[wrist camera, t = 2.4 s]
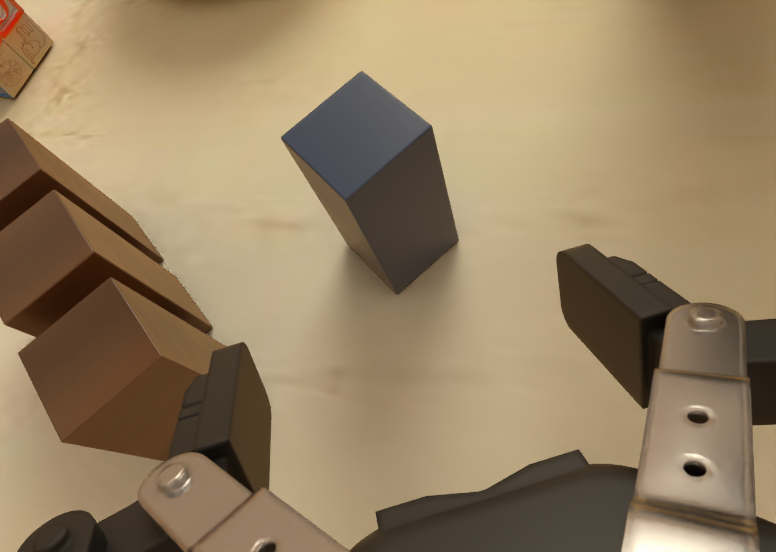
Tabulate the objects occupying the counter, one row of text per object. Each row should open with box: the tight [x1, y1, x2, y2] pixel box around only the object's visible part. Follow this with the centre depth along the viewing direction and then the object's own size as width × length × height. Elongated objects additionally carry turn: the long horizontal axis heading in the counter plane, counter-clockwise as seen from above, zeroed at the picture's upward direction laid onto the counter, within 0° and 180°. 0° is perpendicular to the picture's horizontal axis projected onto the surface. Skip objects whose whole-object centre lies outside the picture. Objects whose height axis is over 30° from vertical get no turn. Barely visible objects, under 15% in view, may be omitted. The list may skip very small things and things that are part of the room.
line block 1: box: [0, 118, 163, 264], centre depth 31 cm, size 5×5×10 cm
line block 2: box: [0, 190, 212, 337], centre depth 29 cm, size 5×5×10 cm
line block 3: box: [18, 277, 271, 461], centre depth 26 cm, size 5×5×10 cm
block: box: [281, 71, 458, 294], centre depth 27 cm, size 5×5×10 cm
